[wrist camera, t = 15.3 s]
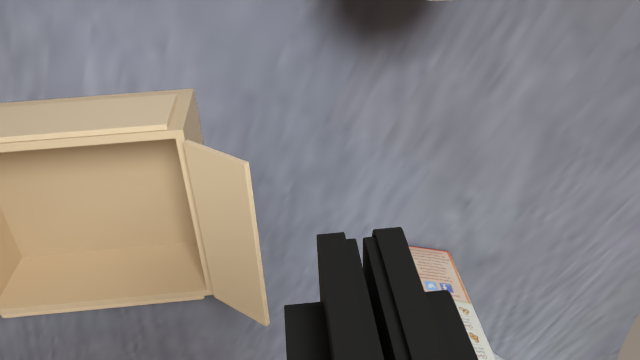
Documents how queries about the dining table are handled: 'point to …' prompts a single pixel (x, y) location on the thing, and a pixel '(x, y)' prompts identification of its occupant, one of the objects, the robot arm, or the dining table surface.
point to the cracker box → (443, 275)
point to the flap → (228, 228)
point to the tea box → (497, 357)
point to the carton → (99, 203)
